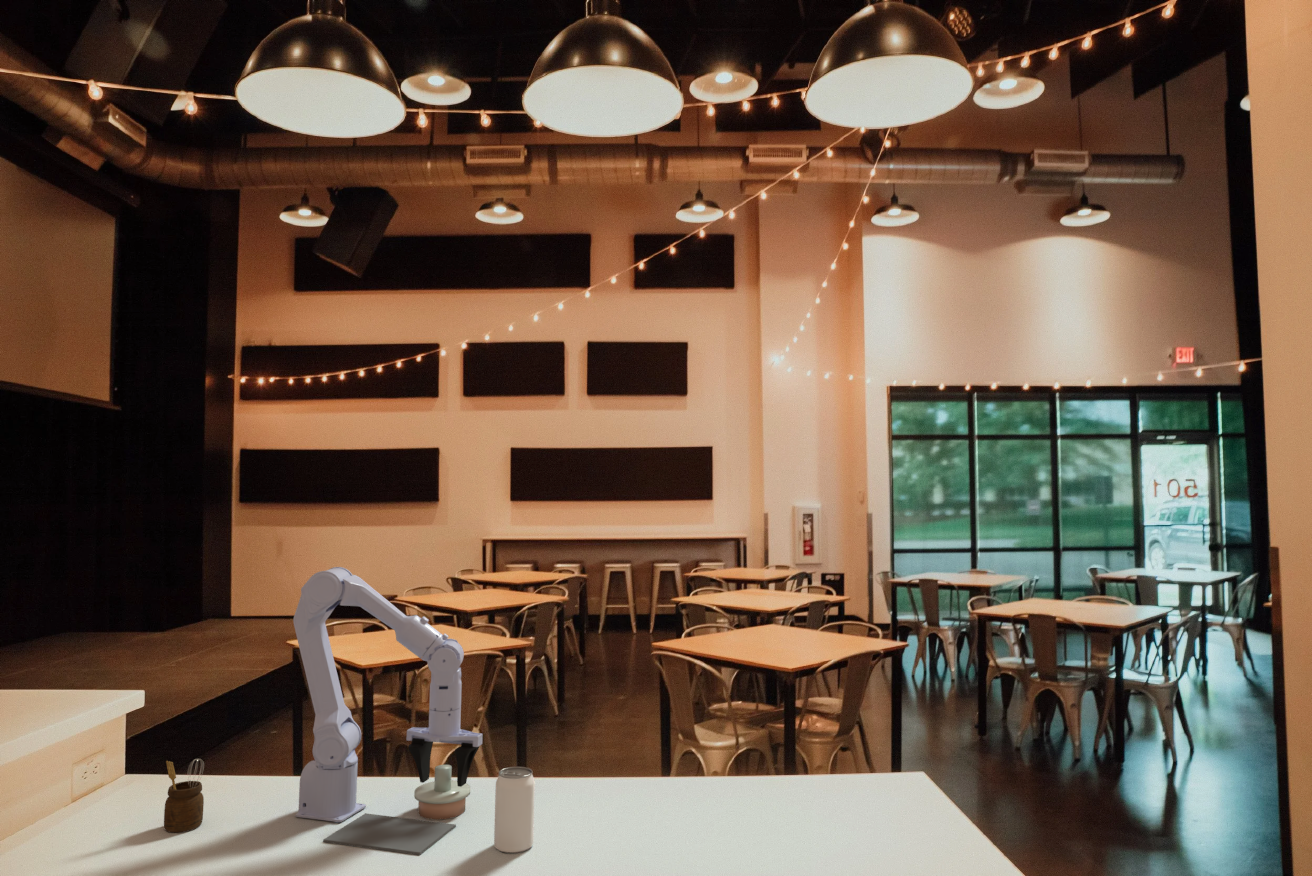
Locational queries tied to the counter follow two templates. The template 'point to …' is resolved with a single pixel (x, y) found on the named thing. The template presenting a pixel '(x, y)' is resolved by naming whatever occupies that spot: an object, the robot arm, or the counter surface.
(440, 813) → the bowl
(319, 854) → the counter surface
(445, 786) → the lid
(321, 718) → the robot arm
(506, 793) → the can
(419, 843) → the mat
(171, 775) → the utensil holder
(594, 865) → the counter surface
